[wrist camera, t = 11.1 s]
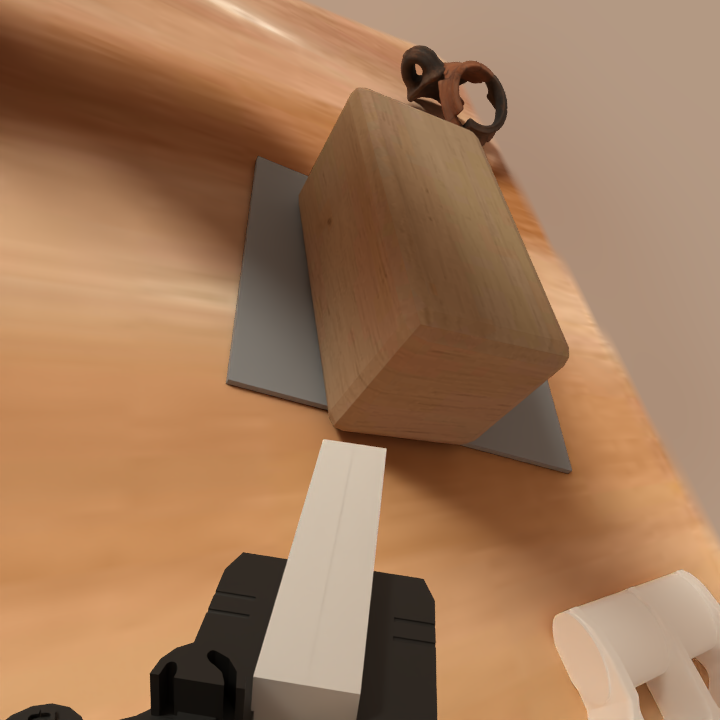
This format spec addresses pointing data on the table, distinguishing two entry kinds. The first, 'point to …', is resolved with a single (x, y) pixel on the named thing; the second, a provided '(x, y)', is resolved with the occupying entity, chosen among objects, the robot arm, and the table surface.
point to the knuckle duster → (645, 649)
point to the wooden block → (420, 279)
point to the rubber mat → (299, 334)
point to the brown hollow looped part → (452, 87)
